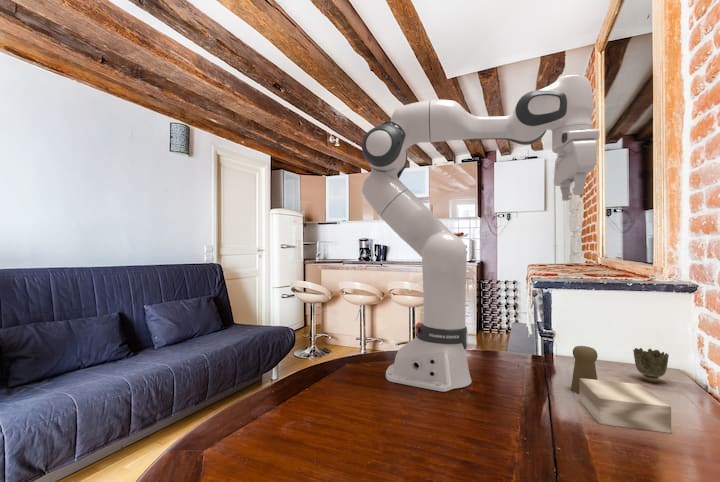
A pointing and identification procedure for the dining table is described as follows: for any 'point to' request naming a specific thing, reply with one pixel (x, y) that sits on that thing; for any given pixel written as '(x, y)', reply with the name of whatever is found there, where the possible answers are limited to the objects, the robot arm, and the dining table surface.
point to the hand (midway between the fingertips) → (572, 197)
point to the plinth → (624, 405)
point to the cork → (583, 365)
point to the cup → (651, 364)
